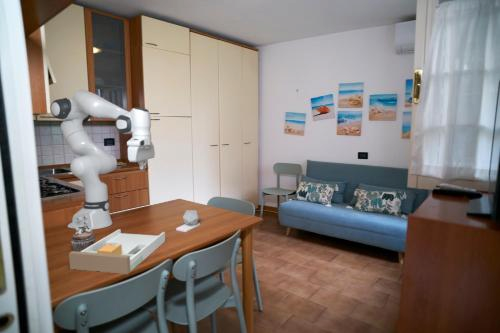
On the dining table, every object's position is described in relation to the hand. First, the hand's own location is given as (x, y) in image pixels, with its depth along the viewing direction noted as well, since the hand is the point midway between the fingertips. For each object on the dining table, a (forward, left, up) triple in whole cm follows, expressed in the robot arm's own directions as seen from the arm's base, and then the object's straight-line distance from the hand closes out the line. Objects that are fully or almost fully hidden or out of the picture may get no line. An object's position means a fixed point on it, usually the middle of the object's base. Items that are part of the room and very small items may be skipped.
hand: (142, 169), depth 157 cm
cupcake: (-18, -22, -34) cm, 44 cm away
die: (+18, +19, -34) cm, 43 cm away
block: (+2, -34, -31) cm, 46 cm away
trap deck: (+2, -24, -34) cm, 42 cm away
